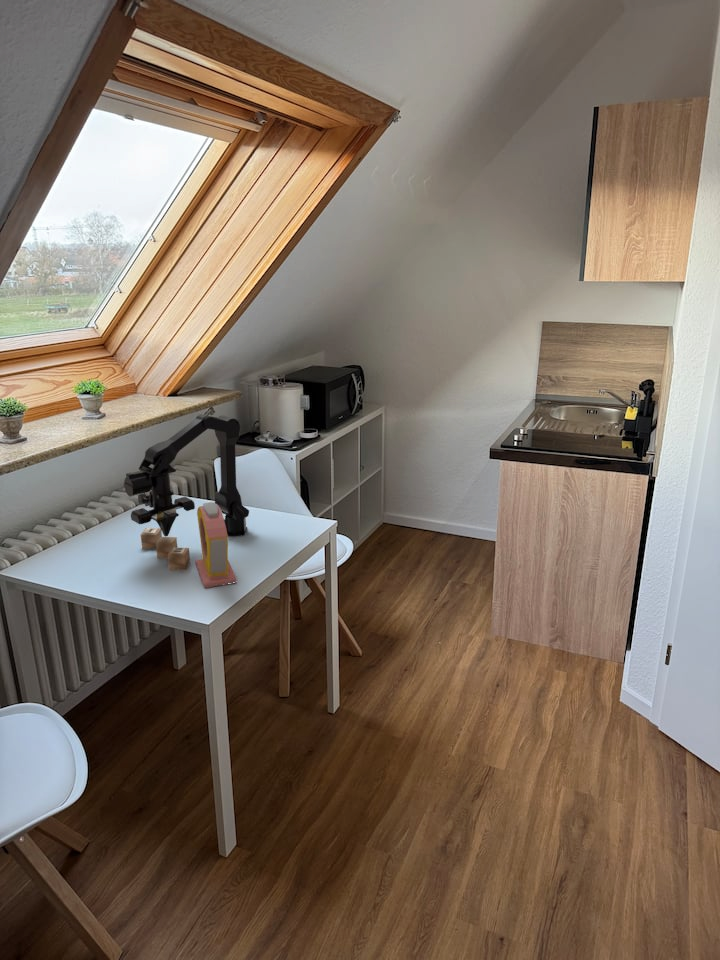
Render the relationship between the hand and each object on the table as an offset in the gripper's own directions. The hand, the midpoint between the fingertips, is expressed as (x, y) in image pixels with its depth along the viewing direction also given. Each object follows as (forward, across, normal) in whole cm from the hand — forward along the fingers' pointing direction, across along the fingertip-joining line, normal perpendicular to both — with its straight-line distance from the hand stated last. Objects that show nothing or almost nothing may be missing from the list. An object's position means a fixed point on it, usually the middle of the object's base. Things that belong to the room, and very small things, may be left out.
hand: (166, 535), depth 214 cm
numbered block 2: (+6, +2, +10) cm, 12 cm away
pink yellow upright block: (+7, -3, +22) cm, 23 cm away
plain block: (+6, 0, 0) cm, 6 cm away
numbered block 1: (+6, 0, -10) cm, 12 cm away
